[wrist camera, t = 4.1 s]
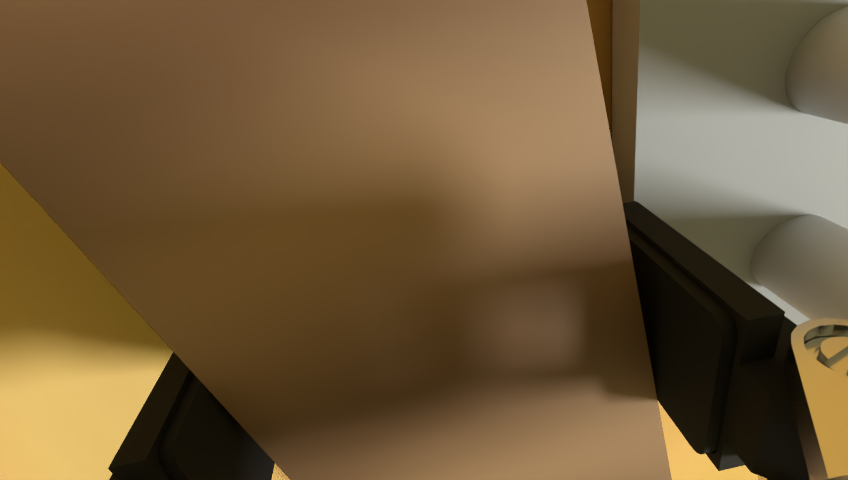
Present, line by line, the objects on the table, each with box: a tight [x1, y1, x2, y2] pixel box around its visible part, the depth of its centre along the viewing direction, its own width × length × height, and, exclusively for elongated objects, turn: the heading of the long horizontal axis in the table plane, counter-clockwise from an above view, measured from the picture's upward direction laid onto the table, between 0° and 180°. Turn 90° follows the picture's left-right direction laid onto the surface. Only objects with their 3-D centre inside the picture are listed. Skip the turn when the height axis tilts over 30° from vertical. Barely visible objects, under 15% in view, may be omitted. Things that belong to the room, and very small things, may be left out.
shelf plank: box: [0, 0, 672, 480], centre depth 10 cm, size 16×7×4 cm, turn 21°
